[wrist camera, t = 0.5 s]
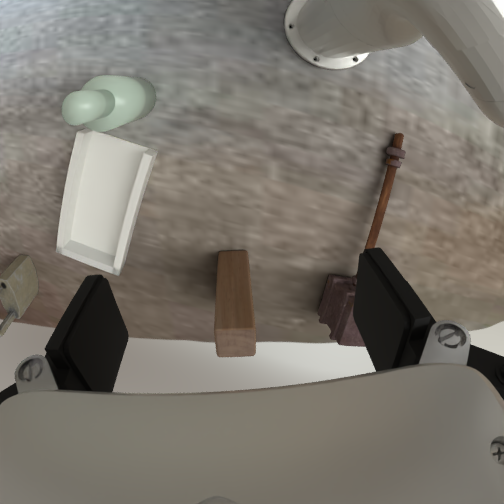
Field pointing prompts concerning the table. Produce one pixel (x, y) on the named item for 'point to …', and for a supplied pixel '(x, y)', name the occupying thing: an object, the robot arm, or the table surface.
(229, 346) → the wooden block
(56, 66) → the table surface
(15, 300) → the padlock
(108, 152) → the u rest
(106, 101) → the bottle
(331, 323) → the hammer
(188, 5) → the table surface
